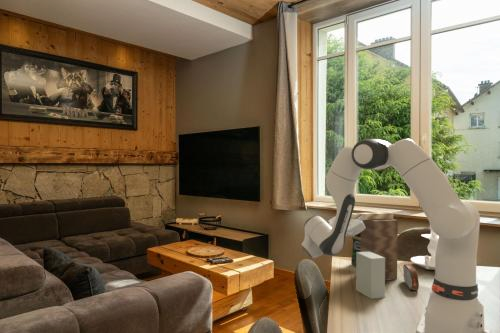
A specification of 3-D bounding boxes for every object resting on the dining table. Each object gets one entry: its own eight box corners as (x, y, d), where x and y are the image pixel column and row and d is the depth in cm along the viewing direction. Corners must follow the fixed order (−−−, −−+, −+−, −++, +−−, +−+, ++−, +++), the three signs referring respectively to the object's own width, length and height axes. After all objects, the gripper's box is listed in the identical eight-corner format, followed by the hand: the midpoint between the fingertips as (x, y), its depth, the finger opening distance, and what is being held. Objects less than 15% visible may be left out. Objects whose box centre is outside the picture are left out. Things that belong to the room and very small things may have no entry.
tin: (419, 293, 136) (419, 272, 136) (410, 292, 136) (411, 271, 136) (409, 281, 151) (410, 261, 150) (402, 280, 151) (402, 261, 151)
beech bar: (354, 220, 150) (354, 214, 150) (349, 218, 154) (349, 213, 154) (393, 218, 156) (393, 213, 156) (387, 217, 160) (387, 211, 160)
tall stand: (373, 281, 150) (374, 221, 150) (360, 274, 159) (360, 217, 159) (397, 278, 153) (397, 220, 153) (382, 272, 163) (383, 216, 162)
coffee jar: (348, 265, 174) (349, 228, 173) (357, 262, 179) (358, 226, 179) (365, 269, 166) (366, 231, 166) (374, 266, 171) (375, 229, 171)
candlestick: (401, 270, 166) (402, 211, 166) (417, 259, 184) (418, 207, 184) (450, 280, 152) (451, 216, 152) (462, 267, 171) (462, 211, 171)
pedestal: (370, 298, 130) (371, 258, 130) (355, 289, 140) (356, 252, 139) (384, 297, 131) (385, 257, 131) (368, 288, 141) (369, 251, 141)
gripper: (345, 230, 140) (371, 212, 143) (321, 222, 160) (344, 206, 163) (351, 243, 141) (377, 225, 144) (327, 233, 160) (350, 218, 164)
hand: (360, 215), depth 153 cm, fingers closed on beech bar, 4 cm apart
